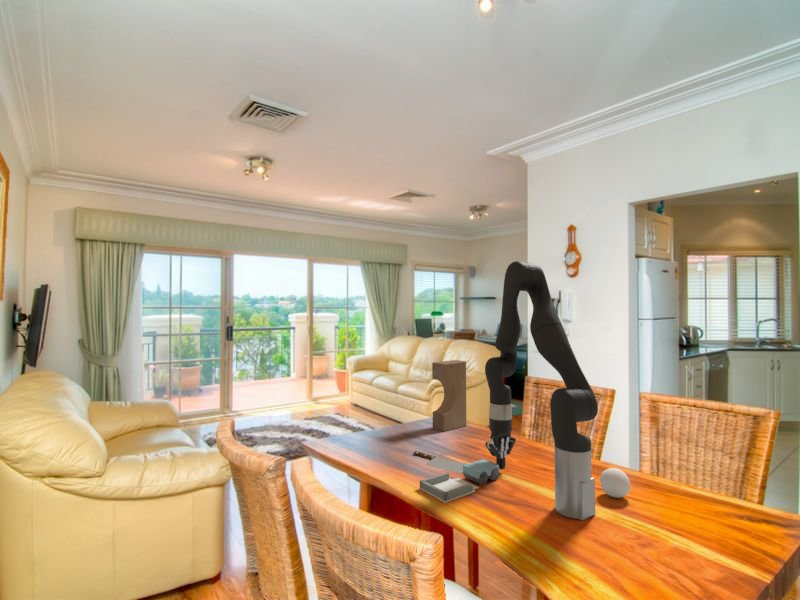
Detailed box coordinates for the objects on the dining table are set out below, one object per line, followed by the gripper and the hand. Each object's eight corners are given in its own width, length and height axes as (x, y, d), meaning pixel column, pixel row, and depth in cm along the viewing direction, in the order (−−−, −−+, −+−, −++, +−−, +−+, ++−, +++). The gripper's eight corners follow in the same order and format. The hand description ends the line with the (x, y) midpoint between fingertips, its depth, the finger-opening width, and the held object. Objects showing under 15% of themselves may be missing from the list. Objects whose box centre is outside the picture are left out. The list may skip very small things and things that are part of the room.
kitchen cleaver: (402, 457, 156) (419, 449, 164) (402, 460, 156) (419, 451, 164) (458, 475, 140) (474, 465, 148) (458, 478, 140) (474, 468, 148)
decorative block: (455, 422, 205) (454, 359, 205) (466, 426, 199) (466, 361, 199) (432, 428, 195) (431, 362, 196) (443, 432, 189) (443, 364, 190)
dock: (482, 489, 130) (482, 481, 130) (445, 503, 121) (445, 494, 121) (456, 477, 139) (456, 469, 139) (419, 489, 130) (419, 480, 130)
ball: (594, 491, 128) (594, 464, 128) (619, 490, 129) (619, 463, 129) (609, 503, 120) (609, 474, 120) (636, 502, 121) (636, 473, 121)
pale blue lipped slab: (500, 478, 138) (500, 465, 138) (479, 486, 132) (478, 472, 132) (484, 472, 144) (484, 458, 144) (463, 479, 138) (463, 465, 138)
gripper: (495, 421, 137) (495, 476, 136) (522, 415, 144) (522, 467, 144) (478, 417, 143) (478, 469, 143) (505, 411, 150) (505, 461, 150)
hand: (501, 468), depth 143 cm, fingers closed
